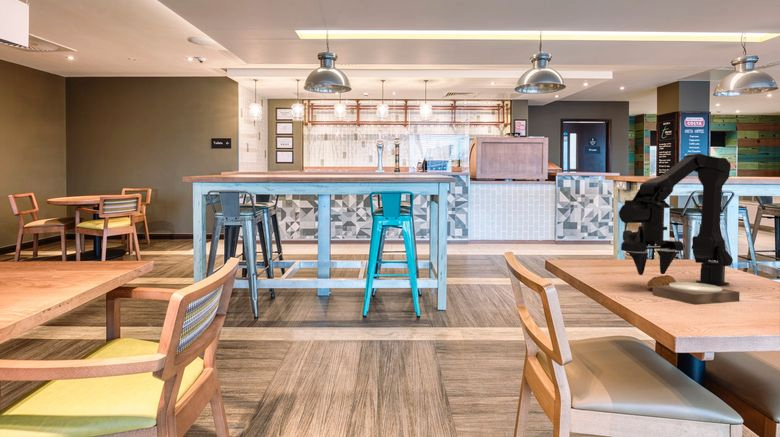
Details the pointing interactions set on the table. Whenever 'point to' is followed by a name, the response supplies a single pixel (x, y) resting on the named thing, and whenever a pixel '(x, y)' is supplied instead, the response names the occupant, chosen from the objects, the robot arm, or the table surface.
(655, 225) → the robot arm
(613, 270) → the table surface
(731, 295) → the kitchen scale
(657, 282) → the pastry
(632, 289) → the table surface
